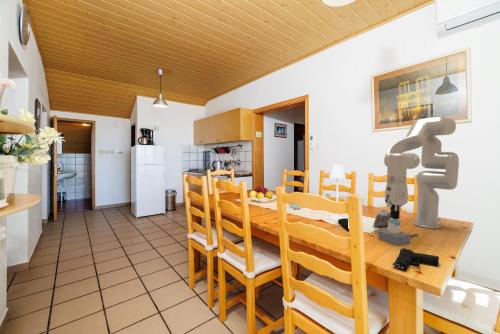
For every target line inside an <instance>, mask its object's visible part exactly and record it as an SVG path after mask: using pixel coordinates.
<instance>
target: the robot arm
mask: <svg viewBox="0 0 500 334" xmlns="http://www.w3.org/2000/svg"><path fill="white" fill-rule="evenodd" d="M456 128H457V123H456V121H455V120H454V119H453V118H452V117H451V118H450V117H446V116H434V117H425V118H418V119H416V120H414V122H413V123H412V124H411V127H410V128H409V130H408V132H407V134H406V136H405V137H404V138H402V139H400V140H398V141H397V142H395V143H394V144H392V145H391V146H390V147H389V148H388V150H387V151H386V154H385V156H384V159H383V163H384V165H385V167H387V169H386V170H387V171H386V185H385V190H384V191H385V192H384V203H385V204H386V205H385V206H386V207H387V208H389V211H390V212H391V216H390V217H391V218H390V219H396V220H400V214H401V213H400V211H401V210H402V207H403V206H405V205H406V204H408V202H409V191H408V184H407V172H408V171H407V170H413V169H416V168H417V167H418V166H419V165H420V164H421V166H422V168H425V169H429V170H422V171H420V172H418V173H417V174H416V185H417V186H416V187H417V199H416V200H417V201H416V220H415V219H414V220H413V221H412V225H415V226H417V227H421V228H425V229H432V230H436V229H437V230H439V229H441V228H442V225H441V224H440V223H438V222H441V221H442V219H441V218H440V217H439V203H440V201H439V200H440V196H439V193H438V192H437V191H436V189H438V190H447V191H448V190H455V189H456V188H457V186H458V182H459V181H458V179H459V167H460V165H459V164H460V158H459V156H458V154H457V153H456V152H454V151H442V144H443V143H442V141H441V140H440V138H438V137H437V136H449V135H452V134H454V133H455V131H456ZM419 148H421V158H420V156H419V155H417V153H413V152H409V151H413V150H416V149H419ZM431 169H432V170H431ZM435 170H445V171H435Z"/></svg>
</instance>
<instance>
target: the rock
mask: <svg viewBox="0 0 500 334" xmlns="http://www.w3.org/2000/svg"><path fill="white" fill-rule="evenodd" d="M390 216H391V211H390V210H389V211H388V210H385V209H382V210H381V211H379V212H377V215H376V217H375V219H374V222H373V227H380V228H385V227H386V226H388V219H392V218H391V217H390Z"/></svg>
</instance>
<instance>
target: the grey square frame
mask: <svg viewBox="0 0 500 334" xmlns="http://www.w3.org/2000/svg"><path fill="white" fill-rule="evenodd" d="M385 229H387V228H385V227H380V228H376V229H374V234H375V235H378V234H379V230H385Z"/></svg>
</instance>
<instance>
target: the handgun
mask: <svg viewBox="0 0 500 334" xmlns="http://www.w3.org/2000/svg"><path fill="white" fill-rule="evenodd" d="M439 261H440V257H439V255H433V254H427V253H419V252H415V251H413V250H412V249H409V248H404V247H402V248H399V253H398V256H397V257H396V259H395V260H394V263H392V266H393V267H394V269H396V270H398V271H403V272H406V271H407V270H408V268H409V266H411V267H415V268H418V269H419V268H420V264H422V265H428V266H432V267H436V266H437V268H438V266H439Z"/></svg>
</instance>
